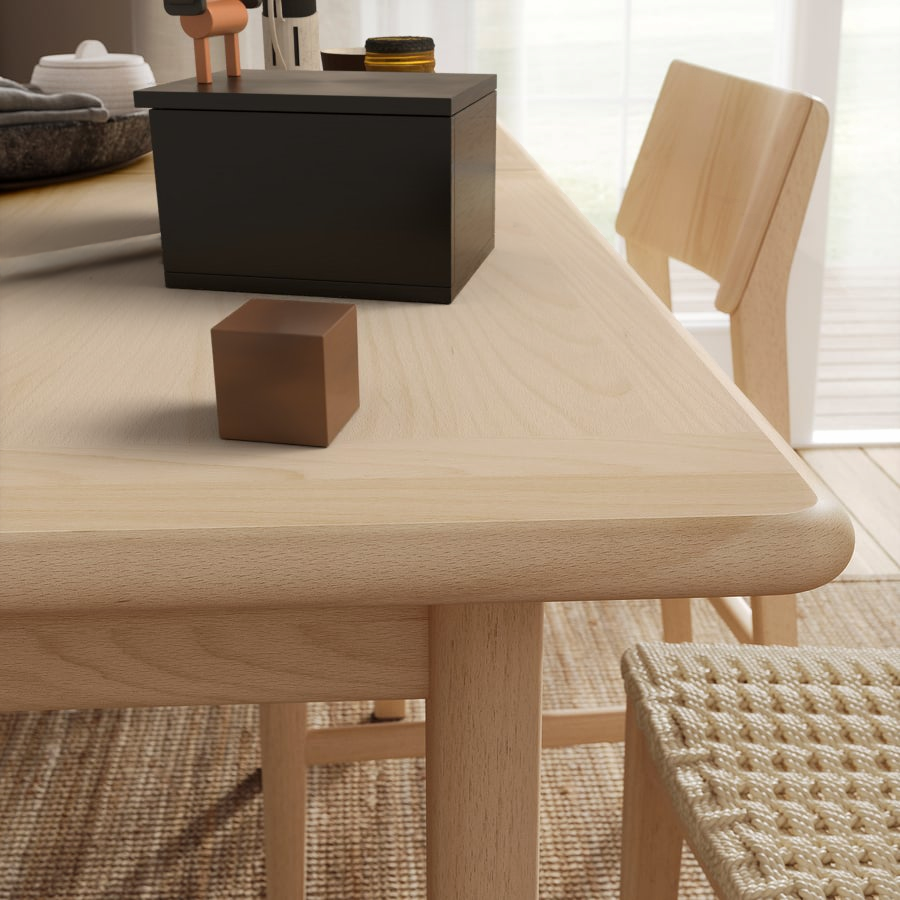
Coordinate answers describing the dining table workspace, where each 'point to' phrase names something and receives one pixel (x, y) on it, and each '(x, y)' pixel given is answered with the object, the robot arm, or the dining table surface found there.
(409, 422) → the dining table surface
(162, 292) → the dining table surface
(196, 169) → the dark wooden box
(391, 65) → the condiment
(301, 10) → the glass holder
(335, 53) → the coffee mug
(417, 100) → the lid
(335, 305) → the block
